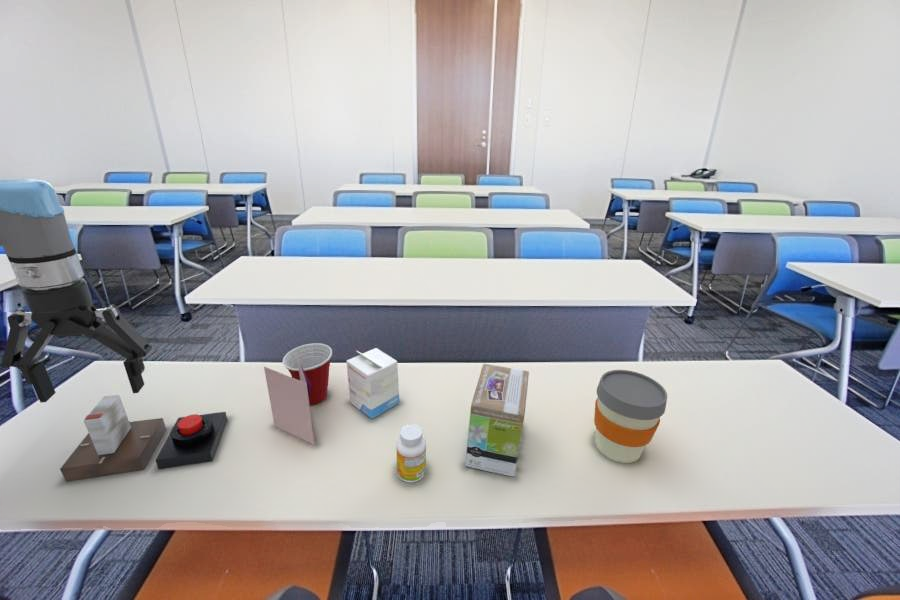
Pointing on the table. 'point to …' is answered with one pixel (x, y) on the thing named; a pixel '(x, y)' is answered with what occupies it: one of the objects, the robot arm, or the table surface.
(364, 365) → the ink box
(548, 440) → the table surface
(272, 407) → the greeting card
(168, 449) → the button block
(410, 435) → the supplement bottle
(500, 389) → the tea box
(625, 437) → the reusable coffee cup
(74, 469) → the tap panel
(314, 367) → the plastic cup
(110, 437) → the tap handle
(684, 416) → the table surface
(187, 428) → the button
